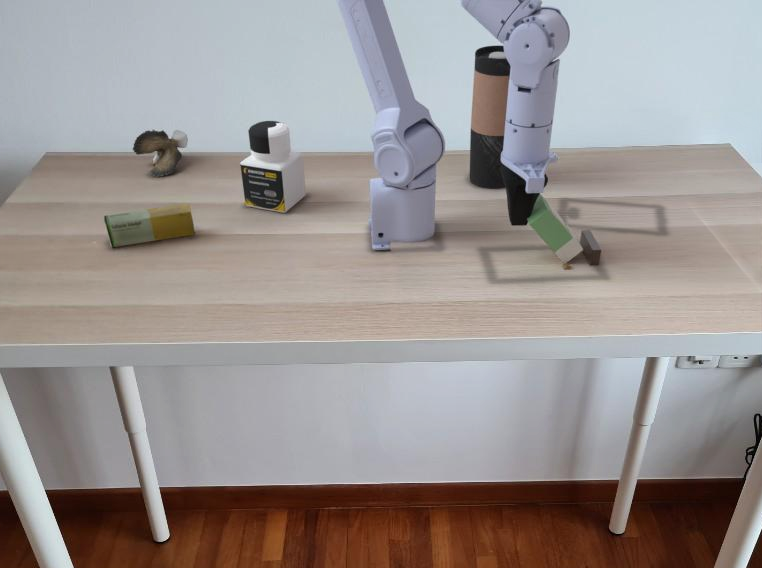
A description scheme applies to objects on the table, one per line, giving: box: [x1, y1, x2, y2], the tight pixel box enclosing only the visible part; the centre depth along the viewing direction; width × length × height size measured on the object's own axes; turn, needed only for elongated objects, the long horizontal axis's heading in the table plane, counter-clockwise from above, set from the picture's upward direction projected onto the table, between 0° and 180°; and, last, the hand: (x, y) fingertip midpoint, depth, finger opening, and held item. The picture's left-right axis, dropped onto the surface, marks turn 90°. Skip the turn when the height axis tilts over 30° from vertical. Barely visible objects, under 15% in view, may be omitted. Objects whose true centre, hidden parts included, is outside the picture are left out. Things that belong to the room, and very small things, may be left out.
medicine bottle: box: [239, 120, 307, 214], centre depth 123 cm, size 7×7×12 cm
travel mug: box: [469, 45, 511, 189], centre depth 127 cm, size 8×8×20 cm
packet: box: [527, 193, 583, 264], centre depth 107 cm, size 8×5×3 cm
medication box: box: [103, 203, 197, 249], centre depth 115 cm, size 12×3×4 cm, turn 109°
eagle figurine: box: [132, 129, 189, 178], centre depth 136 cm, size 8×7×9 cm
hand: (518, 223), depth 106 cm, fingers closed, pressing on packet
